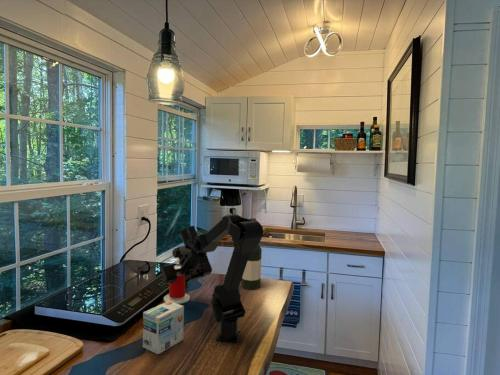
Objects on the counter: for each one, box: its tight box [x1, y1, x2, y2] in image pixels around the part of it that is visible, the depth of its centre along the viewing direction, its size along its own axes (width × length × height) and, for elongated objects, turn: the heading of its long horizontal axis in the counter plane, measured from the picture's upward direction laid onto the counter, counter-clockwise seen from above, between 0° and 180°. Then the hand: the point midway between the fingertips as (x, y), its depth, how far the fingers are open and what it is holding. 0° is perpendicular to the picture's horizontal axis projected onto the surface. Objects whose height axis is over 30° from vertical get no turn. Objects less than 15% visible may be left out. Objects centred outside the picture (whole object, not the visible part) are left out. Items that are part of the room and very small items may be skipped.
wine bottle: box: [240, 217, 263, 291], centre depth 153 cm, size 8×8×30 cm
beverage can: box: [168, 265, 186, 299], centre depth 137 cm, size 6×6×12 cm
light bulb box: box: [142, 301, 185, 355], centre depth 105 cm, size 11×7×11 cm, turn 148°
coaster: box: [163, 292, 191, 305], centre depth 138 cm, size 10×10×1 cm
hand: (179, 280), depth 136 cm, fingers open, 9 cm apart
